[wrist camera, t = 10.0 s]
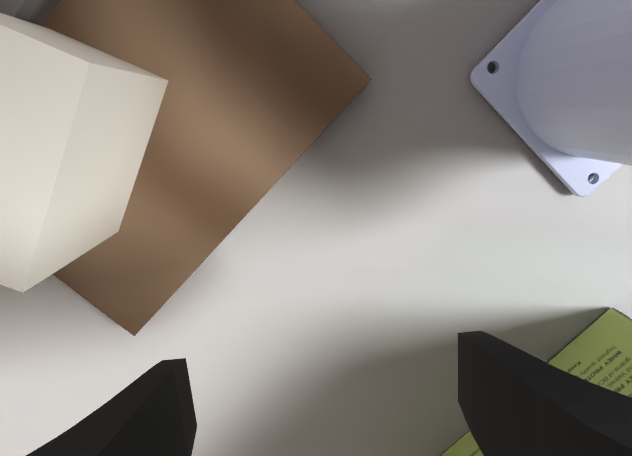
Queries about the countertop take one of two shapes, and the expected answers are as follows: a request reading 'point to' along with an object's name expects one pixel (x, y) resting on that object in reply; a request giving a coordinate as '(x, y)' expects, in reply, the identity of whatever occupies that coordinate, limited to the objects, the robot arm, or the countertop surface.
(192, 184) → the shelf
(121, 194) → the carton
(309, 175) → the countertop surface
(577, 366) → the protein box
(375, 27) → the countertop surface
